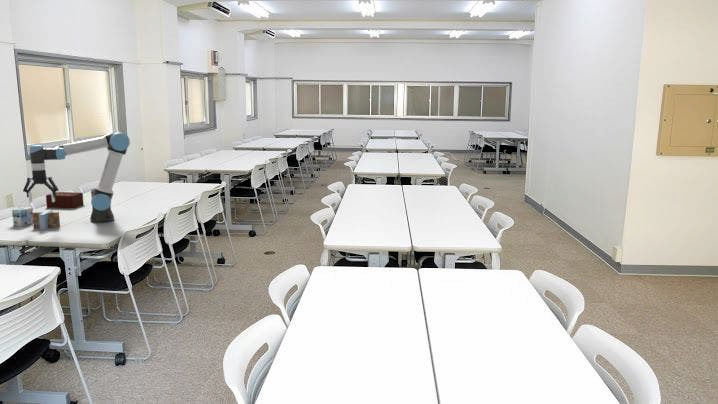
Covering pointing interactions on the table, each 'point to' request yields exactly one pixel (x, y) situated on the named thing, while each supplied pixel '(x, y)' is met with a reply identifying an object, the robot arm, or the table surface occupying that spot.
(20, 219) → the light bulb box
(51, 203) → the box
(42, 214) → the blue-grey rectangular slab
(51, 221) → the brown wooden u-shaped block
